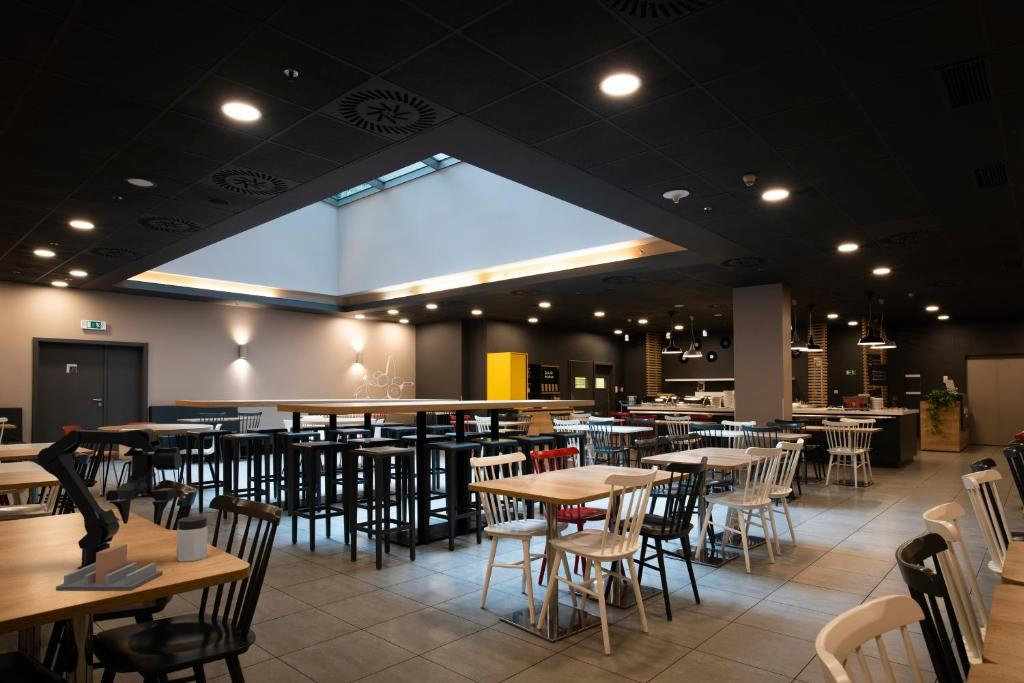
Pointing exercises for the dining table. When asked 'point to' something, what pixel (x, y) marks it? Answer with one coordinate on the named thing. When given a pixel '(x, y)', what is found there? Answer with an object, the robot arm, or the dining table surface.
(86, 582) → the rack
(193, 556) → the jar
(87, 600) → the dining table surface
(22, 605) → the dining table surface
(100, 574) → the brown flat rectangular slab
